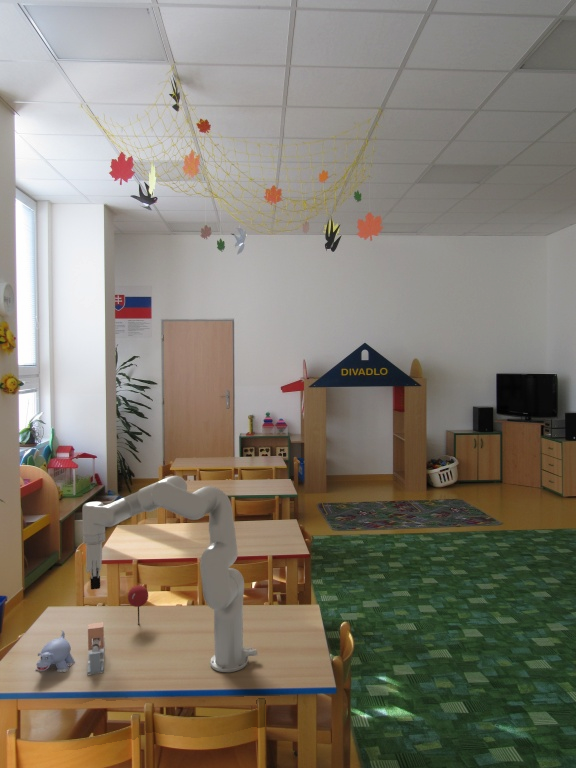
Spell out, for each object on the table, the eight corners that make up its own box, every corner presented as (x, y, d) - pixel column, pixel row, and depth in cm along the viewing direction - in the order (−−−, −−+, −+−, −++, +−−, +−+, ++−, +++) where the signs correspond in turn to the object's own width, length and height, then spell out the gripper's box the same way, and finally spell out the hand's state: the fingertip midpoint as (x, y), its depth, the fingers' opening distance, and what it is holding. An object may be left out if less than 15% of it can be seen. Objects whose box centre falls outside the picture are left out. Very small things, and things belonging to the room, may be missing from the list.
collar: (103, 643, 207) (103, 622, 206) (103, 648, 203) (103, 627, 202) (88, 645, 205) (88, 624, 205) (88, 650, 201) (87, 629, 201)
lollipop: (126, 622, 229) (126, 584, 229) (146, 618, 233) (145, 581, 232) (130, 630, 222) (129, 591, 222) (150, 626, 226) (149, 588, 225)
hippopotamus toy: (25, 679, 189) (24, 650, 189) (49, 656, 204) (49, 629, 203) (57, 681, 188) (56, 652, 187) (79, 658, 203) (78, 630, 202)
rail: (104, 640, 215) (104, 622, 215) (103, 672, 193) (102, 652, 192) (90, 642, 213) (89, 624, 213) (87, 675, 191) (86, 654, 191)
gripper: (84, 532, 215) (85, 581, 216) (82, 544, 201) (83, 597, 202) (105, 530, 217) (106, 579, 218) (105, 542, 203) (106, 594, 204)
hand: (95, 587), depth 210 cm, fingers closed
